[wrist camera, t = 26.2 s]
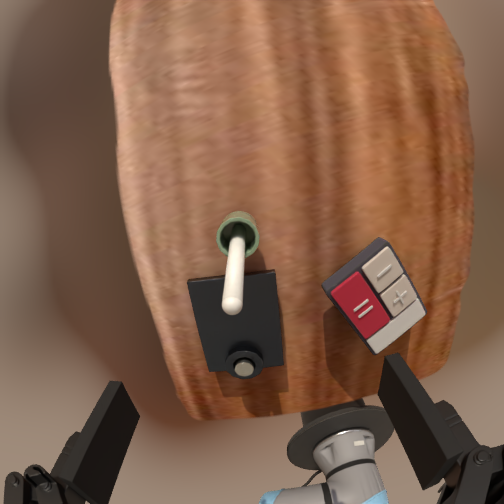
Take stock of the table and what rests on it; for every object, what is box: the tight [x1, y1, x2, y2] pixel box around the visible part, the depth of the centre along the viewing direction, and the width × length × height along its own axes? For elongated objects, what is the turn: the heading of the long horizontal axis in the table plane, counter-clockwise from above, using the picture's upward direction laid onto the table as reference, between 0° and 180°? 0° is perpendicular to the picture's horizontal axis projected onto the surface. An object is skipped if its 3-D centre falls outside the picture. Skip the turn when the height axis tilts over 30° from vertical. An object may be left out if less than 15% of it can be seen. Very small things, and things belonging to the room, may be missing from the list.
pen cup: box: [216, 211, 259, 258], centre depth 34 cm, size 5×5×5 cm
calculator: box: [322, 237, 427, 355], centre depth 37 cm, size 11×4×15 cm
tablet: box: [187, 270, 284, 379], centre depth 39 cm, size 17×12×2 cm
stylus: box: [222, 225, 246, 315], centre depth 30 cm, size 2×2×15 cm
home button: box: [235, 357, 254, 376], centre depth 39 cm, size 3×3×1 cm
